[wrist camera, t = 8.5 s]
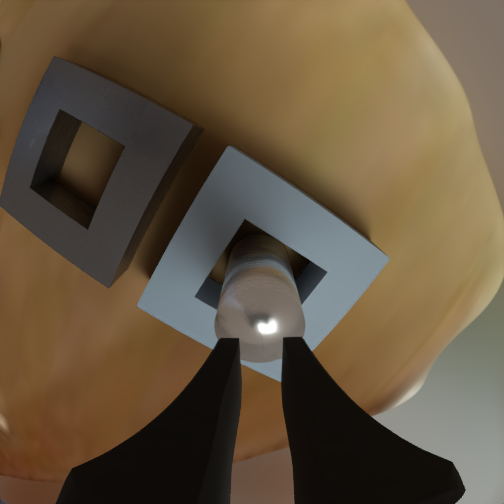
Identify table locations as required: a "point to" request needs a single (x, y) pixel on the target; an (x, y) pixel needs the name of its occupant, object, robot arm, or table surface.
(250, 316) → the aluminium peg
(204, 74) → the table surface
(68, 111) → the charcoal stand
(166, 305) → the block
